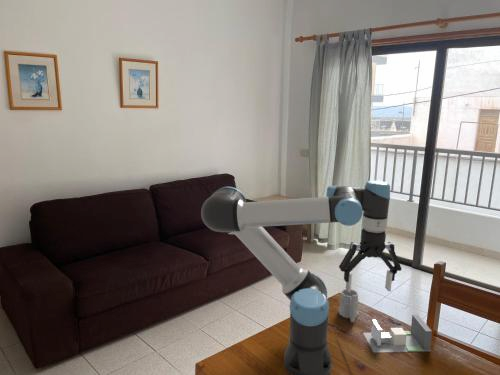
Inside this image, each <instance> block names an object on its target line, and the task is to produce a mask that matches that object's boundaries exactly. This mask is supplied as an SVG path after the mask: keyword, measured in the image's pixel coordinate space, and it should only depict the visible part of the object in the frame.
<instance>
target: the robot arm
mask: <svg viewBox="0 0 500 375" xmlns="http://www.w3.org/2000/svg"><path fill="white" fill-rule="evenodd" d="M390 199H391V185H390V184H389V183H388V182H386V181H384V180H367V181H366V182H365V185H364V186H360V187H359V186H345V185H329V186H327V188H326V195H325V196H323V197H322V196H321V197H306V198H290V199H278V200H277V199H276V200H262V201H249V202H248V201H247V200H246V197H245V195H244V193H243V192H242V191H241V190H239V189H238V188H237V187H235V186H234V187H233V186H223V187H221V188H219V189H217V190H216V191H214V192H213V193H212V194H211V196H210V197H208V198H207V199H206V200H205V201H204V202H203V204H202V207H201V210H200V213H201V214H200V216H201V220H202V222H203V224H204V225H205V226H206V227H207V228H209V229H210V230H211V231H213V232H217V233H227V234H228V235H235V236H236V237H237V238H238V239H239V240H240V241H241V243H242V244H244V246H245V247H246V248H247V250H249V251H250V252H251V254H253V255H254V256H255V258H256V259H257V260H258V262H260V263H261V264H262V265H263V267H265V268H266V270H268V271H269V272H270V273H269V274H271V275H272V276H273V277H274V278H275V279H276V280H277V281H278V282H279V283H280V284H281V286H282V288H281V290H282V294H284V295H285V296H286V298H287V299H288V300H289V318H290V319H289V342H288V344H287V345H286V346H287V347H286V349H285V352H284V355H283V366H284V369H285V371H286V372H288V373H289V374H290V375H330V374H331V372H332V369H333V368H332V366H333V359H332V356H331V353H330V348H329V345H328V325H329V312H330V305H329V304H330V303H329V299H328V290H327V286H326V284H325V281H324V280H323V279H322V278H321V277H320V276H319V275H317V274H315V273H314V272H313V273H312V272H311V271H310V270H309V269H308V268H306V267H300V266H299V265H298V264H297V263H296V262H295V260H294V259H293V258H292V257H291V256H290V255H289V254H288V252H287V251H285V249H283V247H282V246H281V245H280V244H279V243H278V242H277V241H276V240H275V239H274V238H273V236H272V235H270V234H269V232H268V231H267V230H266V229H265V228H264V227H278V226H279V227H280V226H293V225H294V226H295V225H311V224H312V225H314V224H328V223H340V224H341V225H343V226H346V227H347V226H349V227H350V226H353V225H356V224H358V223H359V222H360V221H361V220H362V223H361V234H360V242H359V243H355V242H353V241H351V242H350V245H349V249H348V251H347V252H346V254H345V256H344V257H343V258H342V261H341V263H340V264H339V265H338V268H339V269H340V271H341V272H343V281H344V282H345V289H347V291H348V292H351V289H352V280H353V278H352V277H353V273H352V271H353V270H354V269H355V268H356V267H357V266H358V265H359V264H360V263H361V261H362V260H364V259H365V258H366V257H367V258H378V257H380V259H381V260H382V261H383V262H384V264H385V265H386V266H387V268H388V269H387V270H386V276H385V277H386V278H385V286H384V288H385V289H386V290H387V291H388V292H392V283H393V282H394V281H395V280H396V279H395V278H396V274H398V271H399V272H400V271H402V266H401V264H400V261H399V259H398V256H397V254H396V251H395V244H394V243H392V242H391V241H388V242H387V243H386V236H387V231H386V230H387V228H388V227H387V226H388V217H389V215H388V214H389V209H390V208H389V207H390ZM385 249H386V250H387V251H388V253H389V256H390V258H391V261H392V263H393V264H392V263H391V262H390V260H389V259H388V258H387V257H386V255H385V254H384V253H383V252H384V251H385ZM356 252H357V254H356ZM355 254H356V255H355Z"/></svg>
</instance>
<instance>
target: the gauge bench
mask: <svg viewBox="0 0 500 375" xmlns="http://www.w3.org/2000/svg"><path fill="white" fill-rule="evenodd" d="M411 317H412V318H411V323H410V324H411V325H410V331H409V330H404V331H405V333H406V334H407V338H406V345H394V344H393V343H392V341H391V343H381V346H377V345H376V343H375V341H374V340H373V338H372V336H371V332H362V333H363V336H364V337H365V339H366V341H367V342H368V345H369V347H370V348H371V350H372V352H373V353H403V352H404V353H406V352H407V353H411V352H413V353H414V352H415V353H416V352H431V344H432V335H433V334H432V333H433V330H432V329H431V328H430V327H429V326H428V324H426V322H425V321H424V320H423V319H422V318H421V317H420V315H419V314H412V315H411ZM384 332H385V331H382V333H384ZM387 332H388V331H387ZM388 333H389V335H390V331H389V332H388Z"/></svg>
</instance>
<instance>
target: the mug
mask: <svg viewBox="0 0 500 375" xmlns="http://www.w3.org/2000/svg"><path fill="white" fill-rule="evenodd" d="M359 303H360V302H359V293H358V292H357V290H354V289H352V288H351V292H348V291H347V289H346V288H345V289H342V290H341V292H340V297H339V308H338V311H337V312H338V314H339V315H340V316H341V317H343V318H346V319H350V323H355V320H356V318H357V317H359V315H360V314H359Z"/></svg>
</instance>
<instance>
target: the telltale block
mask: <svg viewBox="0 0 500 375" xmlns="http://www.w3.org/2000/svg"><path fill="white" fill-rule="evenodd" d="M405 331H406V330H404V329H403V327H390V329H389V332H390V336H391V341H392V343H393V344H394V345H406V338H407V334H406V333H405Z"/></svg>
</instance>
